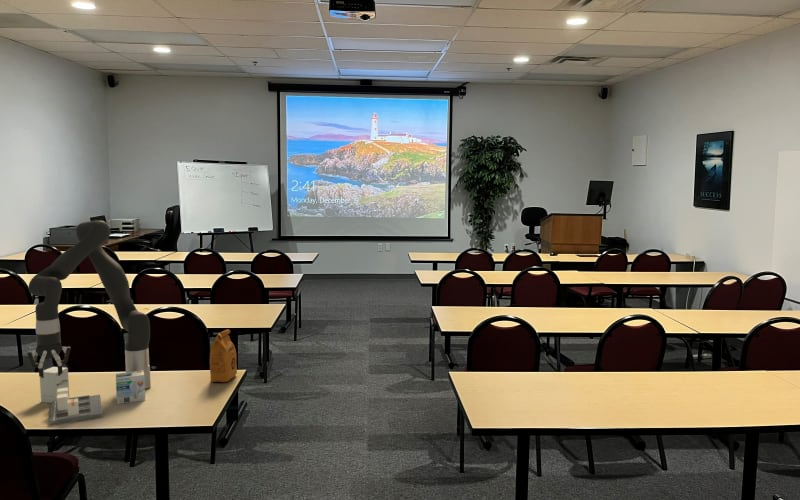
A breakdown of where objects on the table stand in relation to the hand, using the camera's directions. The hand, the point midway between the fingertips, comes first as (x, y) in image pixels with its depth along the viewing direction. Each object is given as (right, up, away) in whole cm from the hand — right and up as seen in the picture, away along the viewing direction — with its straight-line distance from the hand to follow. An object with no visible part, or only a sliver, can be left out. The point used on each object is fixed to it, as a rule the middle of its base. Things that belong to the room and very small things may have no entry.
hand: (50, 376), depth 216 cm
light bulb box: (+18, -15, +25) cm, 34 cm away
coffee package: (+49, -12, +50) cm, 71 cm away
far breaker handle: (-5, -14, +16) cm, 22 cm away
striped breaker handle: (+6, -15, +5) cm, 17 cm away
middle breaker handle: (-1, -14, +10) cm, 17 cm away
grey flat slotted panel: (+3, -16, +12) cm, 20 cm away
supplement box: (-12, -15, +24) cm, 31 cm away
